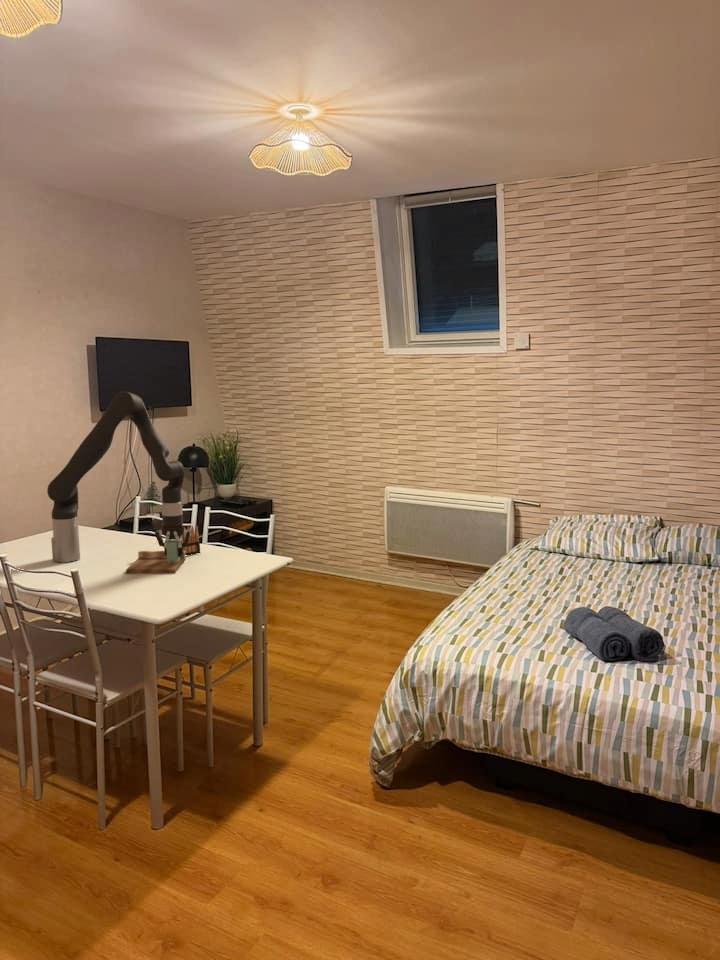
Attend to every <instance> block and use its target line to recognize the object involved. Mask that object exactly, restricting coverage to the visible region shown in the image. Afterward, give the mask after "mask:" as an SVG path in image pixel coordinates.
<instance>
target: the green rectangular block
mask: <svg viewBox="0 0 720 960" xmlns="http://www.w3.org/2000/svg"><path fill="white" fill-rule="evenodd" d="M166 548H167V563H177V562H178V561H179V560H180V557H179V553H178V548H179V546H178V543H177V541H176V539H171V540H169V541H168V542H167V543H166Z"/></svg>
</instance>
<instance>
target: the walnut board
mask: <svg viewBox="0 0 720 960" xmlns="http://www.w3.org/2000/svg"><path fill="white" fill-rule="evenodd" d="M137 554H138V557H137V559H136V560H135V561H133V563H132V564H131V565H129V566H128V567H127V568H126V569H125V574H176V573H177V572H178V570H180V568H181V567H182V566H181V565H183V564H184V563H185V562H186V561H185V560H186V556H185V551H183V555H182V556H181V557H180V560H179V561H178V562H177V563H167V557H166V556H165V551H164V550H139V551H138V552H137ZM184 561H185V562H184ZM180 566H181V567H180ZM176 571H177V572H176Z"/></svg>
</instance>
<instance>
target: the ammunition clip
mask: <svg viewBox="0 0 720 960" xmlns="http://www.w3.org/2000/svg"><path fill="white" fill-rule="evenodd" d="M183 527H184V529H185V530H188V531H189V530H191V535H190V538H189V541H188V544H187V545H186V546H184V547H183V551H185V555H190V556H192V555H191V554H195V555H197V554H196V553H200V554H201V545H200V539H199V538H200V537H199V529H198V525H197V524H196V525H195V527H194V525H191V528H190V526H187V529H186V527H185V526H183ZM184 534H185V533H184V532H183V534H182V535H181V538H182V542H183V543H184V541H185V537H186V536H185V535H184Z"/></svg>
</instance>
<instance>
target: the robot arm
mask: <svg viewBox="0 0 720 960" xmlns="http://www.w3.org/2000/svg"><path fill="white" fill-rule="evenodd" d="M125 418H129V419H130V420H131V421H132V423H133V424H134V425H135V426H136V428H137V430H138V432H139V435H140V439H141V442H142V445H143V446H144V449H145V450H146V452H147V453H148V455H149V457H150V458H151V460H152V465H153V467H154V471H155V474H156V477H158V478H159V479H160V480H161V481H163V482H168V483H167V485H166V486H164V487H162V489H161V499H162V501H161V504H162V505H161V516H162V517H161V518H162V527H161V529H160V530H158V529H157V530H156V531H155V532H154V535H155V537H156V540H157V542H158V545H159V547H163V548H164V550H163V551H165V556H166V557H167V548H166V543H167V542H168V541H169V540H171V539H176V541H177V543H178V546H179V548H178V553H179V557H181V556H182V555H183V547H184V546H186V545H187V544H188V541H189V538H190V535H191V529H190V530H189V531H188V530H187V529H186V528H185V529H186V530H185V529H184V527H185V526H184V521H183V520H184V519H183V512H184V511H183V504H182V488H183V483H184V480H185V479H184V478H185V468H184V465H183V464H182V463H181V462H180V461H179V460H171V461H167V460H166V458H167V457H168V456H169V454H170V450H169V449H168V447H167V445H166V443H165V442H164V441H163V439H162V437H161V436H160V434H159V433H158V431H157V430H156V428H155V425H154V423H153V421H152V420H151V417H150V416H149V413H148V410H147V408H146V405H145V403H144V401H143V399H142V398H141V397H140V396H139V395H137V394H134V393H132V392H129V391H127V390H126V391H125V390H124V391H119V392H118V393H116V394H115V396H114V397H113V398H112V400H111V401H110V403H109V405H108V407H107V408H106V410H105V411H104V413H103V414H102V416H101V417H100V419H99V420H98V421H97V423H96V424H95V426H94V427H93V428H92V430H91V431H90V432H89V433H88V434H87V435H86V437H85V438H84V440H83V441H82V442H81V443H80V444H79V446H78V447H77V449H76V450H75V452H74V453H73V454H72V456H71V457H70V459H69V461H68V463H66V465H65V466H64V468H63V469H62V470H61V471H60V472H59V473H58V474H57V475H56V476H55V477H54V478H53V479H52V480H51V481H50V482H49V483H48V486H47V496H48V498H49V499H50V501H53V508H52V510H51V520H52V522H51V523H52V537H51V553H52V562H55V561H57V562H56V563H71V562H70V561H73V562H76V561H75V560H77V561H78V559H79V560H80V559H81V550H80V536H79V535H80V533H79V532H80V531H79V519H78V510H79V489H78V484H79V482H80V481H81V479H82V478H83V477H84V476H85V475H86V474H87V473H88V472H89V471H91V470H92V469H93V468H94V467H95V466H96V465H97V464H98V463H99V462H100V461H101V460H102V458H103V457H104V456H105V455H106V453H107V452H108V450H109V449H110V448H111V446H112V443H113V439H114V435H115V432H116V430H117V427H118V426H119V425H120V423H121V422H122V421H123V420H124V419H125ZM183 532H184V533H185V534H184V535H185V536H186V537H185V541H184V543H183V542H182V538H181V535H182V536H183ZM162 535H164V537H165V538H164V539H165V540H164V539H163V537H162Z"/></svg>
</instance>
